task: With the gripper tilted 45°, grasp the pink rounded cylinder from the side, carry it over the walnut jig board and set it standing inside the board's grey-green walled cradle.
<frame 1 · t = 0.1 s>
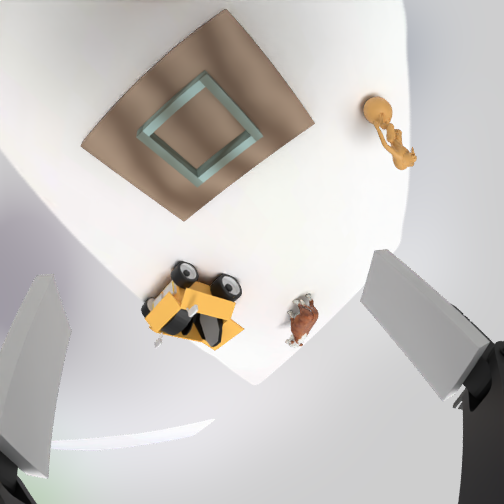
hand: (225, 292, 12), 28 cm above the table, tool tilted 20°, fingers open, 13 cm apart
jig board: (198, 123, 34), on the table
figurine: (365, 110, 37), on the table
race car: (189, 290, 57), on the table
bull figurine: (294, 306, 71), on the table
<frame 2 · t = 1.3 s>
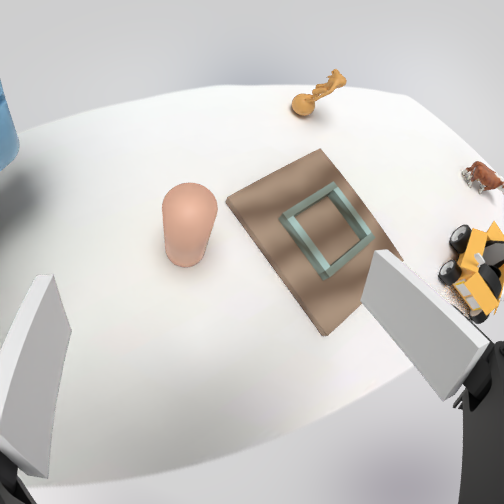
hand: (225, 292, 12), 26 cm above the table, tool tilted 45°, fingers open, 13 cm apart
jig board: (321, 234, 43), on the table
figurine: (304, 115, 50), on the table
race car: (464, 276, 50), on the table
bull figurine: (474, 187, 59), on the table
pink rounded cylinder: (185, 247, 38), on the table
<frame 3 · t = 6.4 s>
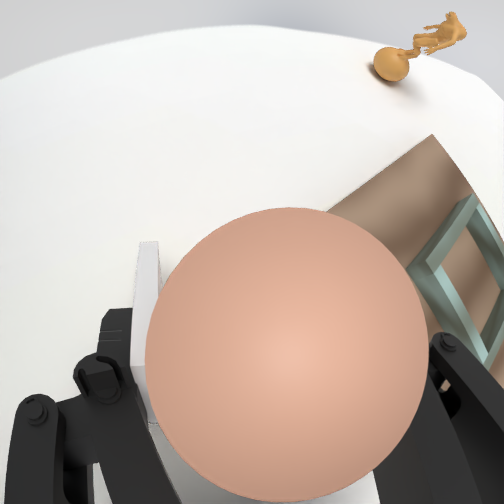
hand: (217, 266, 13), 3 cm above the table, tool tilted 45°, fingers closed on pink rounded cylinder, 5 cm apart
jig board: (454, 287, 21), on the table
figurine: (389, 81, 28), on the table
pink rounded cylinder: (217, 351, 16), on the table, touching gripper
when the fingers open (6 cm above the table, at t = 13.6 s): pink rounded cylinder drops 1 cm, resting on jig board.
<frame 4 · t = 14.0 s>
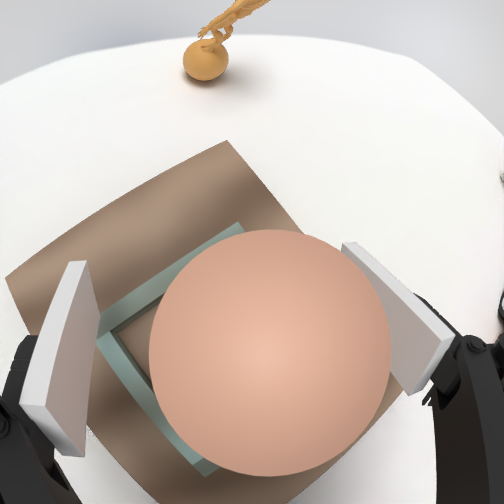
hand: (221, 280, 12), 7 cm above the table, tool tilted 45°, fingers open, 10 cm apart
jig board: (212, 350, 18), on the table
figurine: (212, 81, 25), on the table
pink rounded cylinder: (214, 352, 17), point 2 cm above the table, touching jig board
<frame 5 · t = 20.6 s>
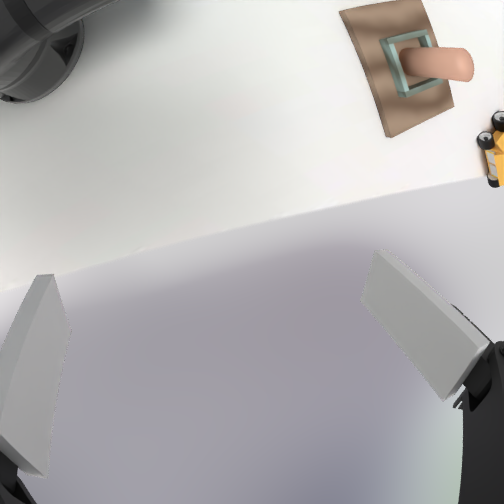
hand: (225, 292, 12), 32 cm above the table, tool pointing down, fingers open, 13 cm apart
jig board: (403, 61, 39), on the table
race car: (493, 146, 53), on the table
pink rounded cylinder: (409, 61, 38), point 2 cm above the table, touching jig board
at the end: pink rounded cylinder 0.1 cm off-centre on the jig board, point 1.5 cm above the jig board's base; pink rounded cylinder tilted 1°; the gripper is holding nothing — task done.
